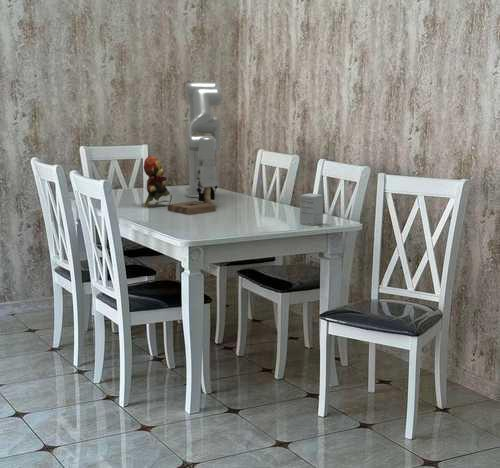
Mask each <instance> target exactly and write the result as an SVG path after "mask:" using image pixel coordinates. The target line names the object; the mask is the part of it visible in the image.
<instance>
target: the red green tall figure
mask: <svg viewBox="0 0 500 468" xmlns="http://www.w3.org/2000/svg"><path fill="white" fill-rule="evenodd" d="M143 171H144V173H145V175H146V176H148V177H149V178H148V179H147V181H146V190H147V198H146V201H145V202H144V205H143V207H144V208H145V207H147V208H150V207H151V208H153V207H155V206H156V205H158V204H160V203H168V204H171V202H172V194H171V193H170V191H169V190H168V188H167V186H166V185H164V184H163V182H166V180H167V178H168V177H167V176H164V173H165V170H164V168H162V163H161V161H160V160H159V159H158V158H157V157H155V156H151V155H149V156H148V157H146V158H145V159H144V162H143ZM168 196H170V198H169V199H170V200H161V201H159V199H160V198H161V197H168ZM154 200H155V201H156V202H155V203H154V204H153V205H152V206H151V205H150V202H152V201H154Z"/></svg>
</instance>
